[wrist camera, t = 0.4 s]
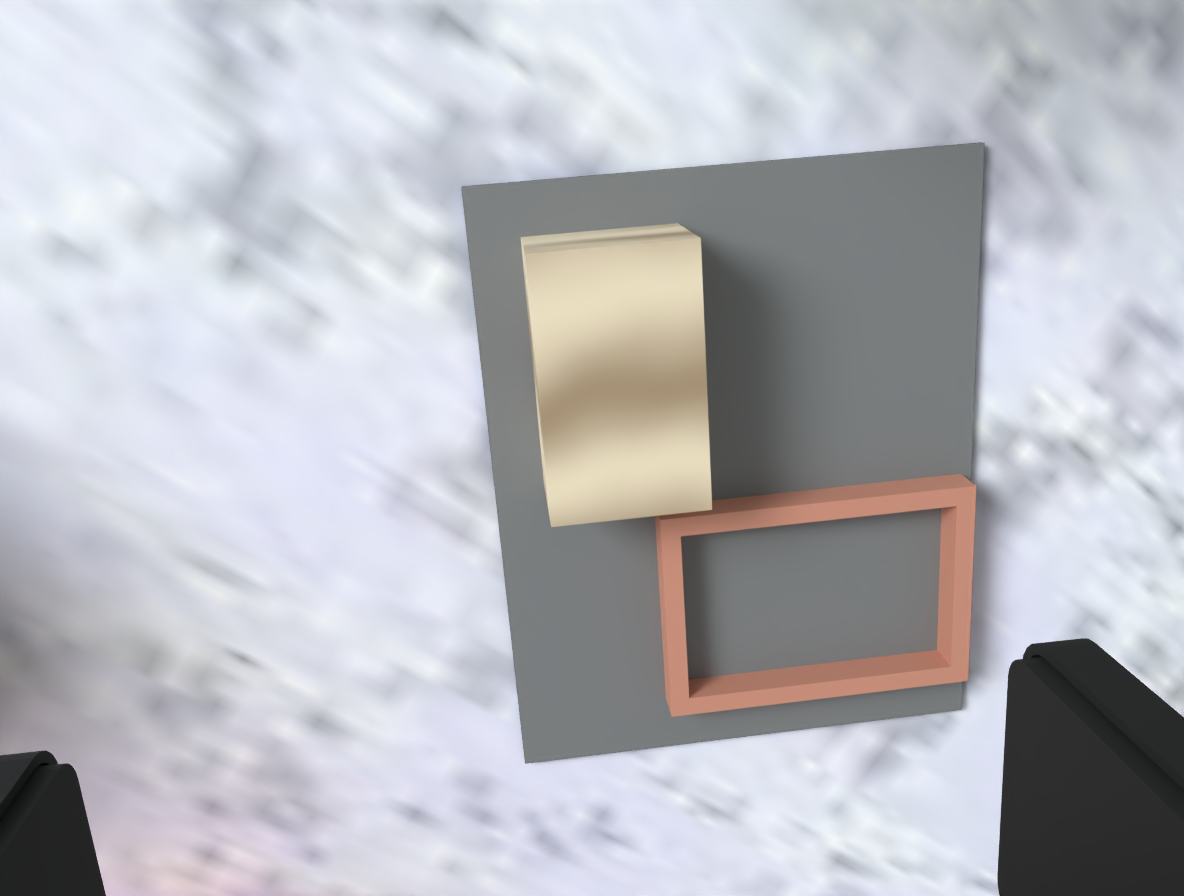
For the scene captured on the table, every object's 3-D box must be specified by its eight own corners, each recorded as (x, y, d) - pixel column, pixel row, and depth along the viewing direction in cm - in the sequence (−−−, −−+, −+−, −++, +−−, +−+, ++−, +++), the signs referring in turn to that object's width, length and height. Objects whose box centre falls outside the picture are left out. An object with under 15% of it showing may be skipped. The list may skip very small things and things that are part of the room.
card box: (520, 236, 40) (525, 253, 36) (677, 223, 41) (700, 238, 37) (544, 485, 44) (551, 527, 39) (689, 469, 44) (712, 509, 40)
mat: (461, 186, 40) (460, 190, 38) (979, 142, 41) (1002, 144, 40) (524, 758, 48) (526, 784, 46) (957, 705, 49) (975, 728, 48)
